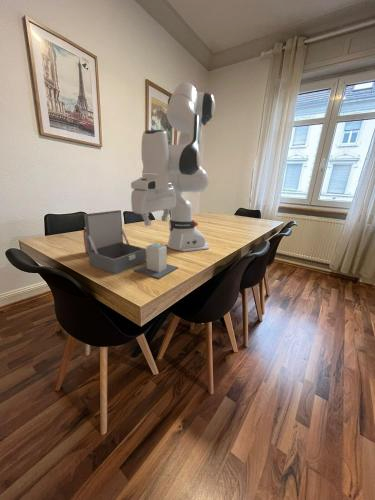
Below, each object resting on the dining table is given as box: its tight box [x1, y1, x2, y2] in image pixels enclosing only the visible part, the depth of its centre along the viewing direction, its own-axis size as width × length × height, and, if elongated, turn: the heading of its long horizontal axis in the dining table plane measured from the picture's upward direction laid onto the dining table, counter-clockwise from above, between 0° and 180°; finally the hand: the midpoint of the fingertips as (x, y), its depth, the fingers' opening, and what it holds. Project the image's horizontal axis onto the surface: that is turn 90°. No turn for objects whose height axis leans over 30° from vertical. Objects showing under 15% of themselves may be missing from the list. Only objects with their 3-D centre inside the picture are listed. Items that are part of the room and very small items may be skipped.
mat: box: [133, 263, 179, 280], centre depth 80 cm, size 12×12×1 cm
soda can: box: [82, 226, 89, 255], centre depth 93 cm, size 7×7×12 cm
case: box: [83, 209, 147, 275], centre depth 82 cm, size 15×17×20 cm
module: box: [145, 243, 168, 272], centre depth 79 cm, size 6×4×9 cm
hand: (156, 223), depth 75 cm, fingers open, 8 cm apart
